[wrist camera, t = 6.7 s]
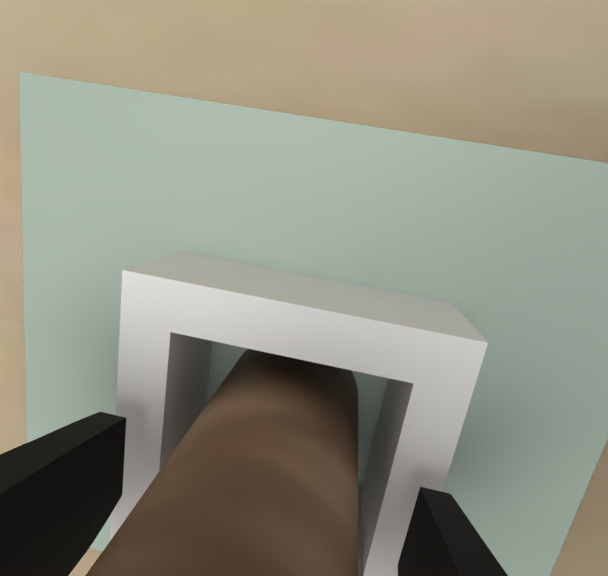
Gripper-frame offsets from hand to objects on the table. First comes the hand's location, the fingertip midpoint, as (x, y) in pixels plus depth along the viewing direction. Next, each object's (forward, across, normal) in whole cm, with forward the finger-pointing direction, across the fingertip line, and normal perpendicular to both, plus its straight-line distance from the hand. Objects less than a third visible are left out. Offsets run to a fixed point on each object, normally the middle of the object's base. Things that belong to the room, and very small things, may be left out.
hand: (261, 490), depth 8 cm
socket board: (+5, 0, 0) cm, 5 cm away
